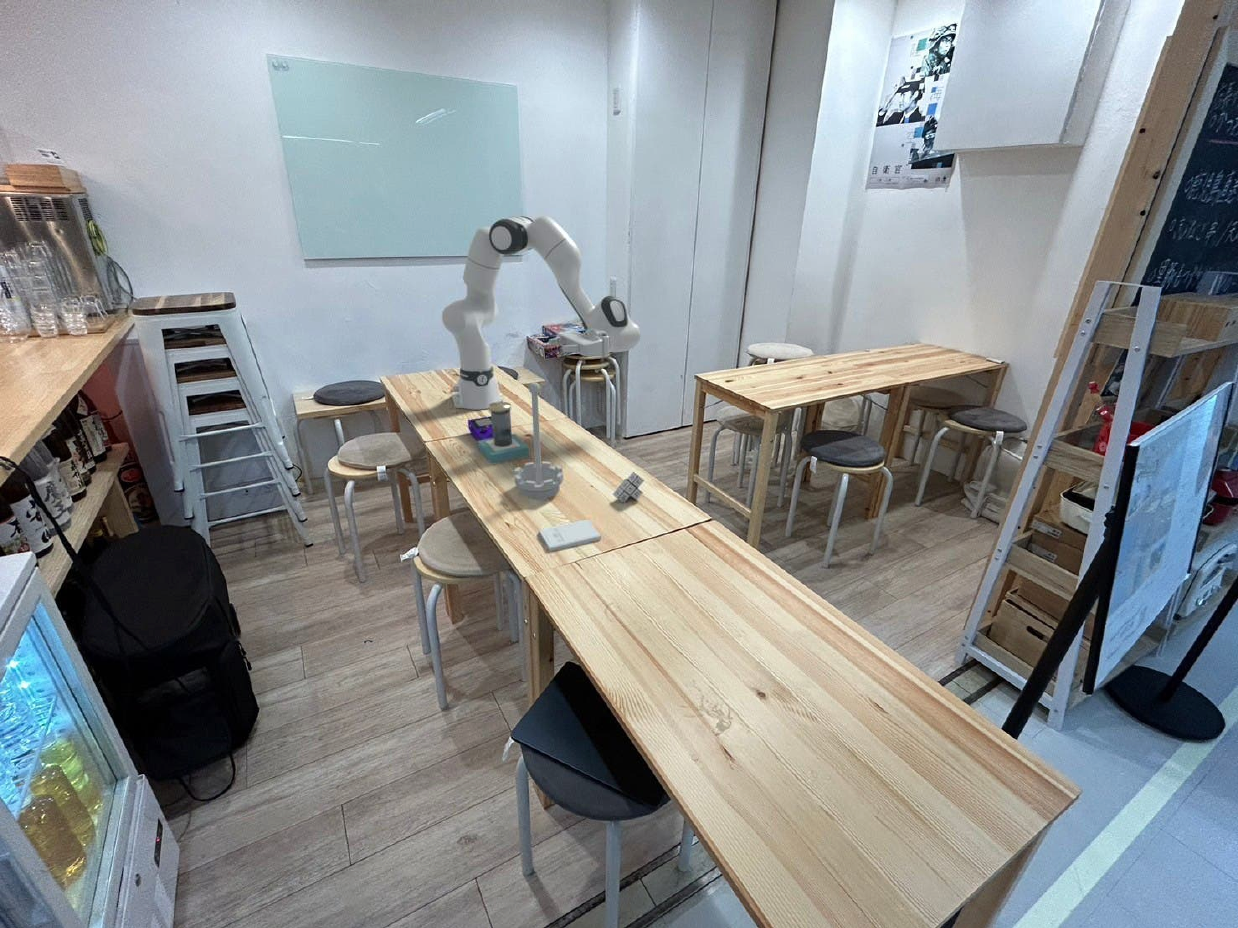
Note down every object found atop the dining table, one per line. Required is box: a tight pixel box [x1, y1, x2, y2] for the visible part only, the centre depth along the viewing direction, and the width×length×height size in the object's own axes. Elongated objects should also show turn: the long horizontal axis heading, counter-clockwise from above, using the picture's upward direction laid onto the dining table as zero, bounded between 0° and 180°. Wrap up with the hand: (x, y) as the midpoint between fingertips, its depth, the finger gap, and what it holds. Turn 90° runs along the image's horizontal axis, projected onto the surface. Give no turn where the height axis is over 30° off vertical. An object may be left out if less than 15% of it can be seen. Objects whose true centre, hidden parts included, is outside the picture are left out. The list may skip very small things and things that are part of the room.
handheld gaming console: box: [467, 415, 493, 442], centre depth 179 cm, size 9×5×15 cm
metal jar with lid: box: [488, 401, 513, 447], centre depth 165 cm, size 6×6×12 cm
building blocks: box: [612, 471, 645, 504], centre depth 144 cm, size 5×5×8 cm
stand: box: [477, 433, 530, 465], centre depth 168 cm, size 12×12×3 cm
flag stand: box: [513, 382, 564, 500], centre depth 142 cm, size 13×13×30 cm
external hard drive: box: [538, 519, 602, 552], centre depth 128 cm, size 2×8×12 cm
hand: (556, 345), depth 170 cm, fingers open, 8 cm apart
